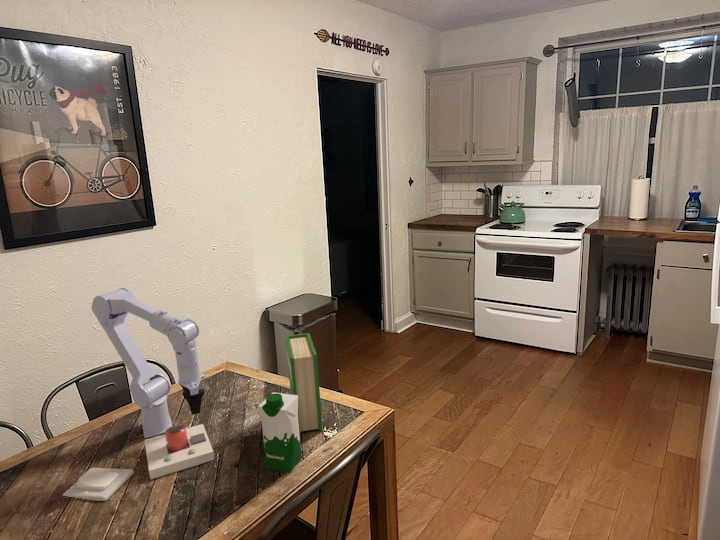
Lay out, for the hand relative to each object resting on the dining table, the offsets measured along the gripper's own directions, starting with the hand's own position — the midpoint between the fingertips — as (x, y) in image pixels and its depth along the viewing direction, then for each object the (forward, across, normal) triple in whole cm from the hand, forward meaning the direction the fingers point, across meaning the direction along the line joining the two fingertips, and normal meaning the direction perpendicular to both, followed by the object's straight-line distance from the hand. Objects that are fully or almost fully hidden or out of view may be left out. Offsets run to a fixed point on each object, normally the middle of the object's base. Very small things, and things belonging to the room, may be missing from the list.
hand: (194, 407), depth 140 cm
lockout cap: (+7, -6, +6) cm, 11 cm away
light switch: (+10, -9, +26) cm, 29 cm away
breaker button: (+9, -6, +6) cm, 13 cm away
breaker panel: (+9, -6, +6) cm, 13 cm away
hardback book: (+10, -7, -31) cm, 33 cm away
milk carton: (+10, -25, -18) cm, 32 cm away
